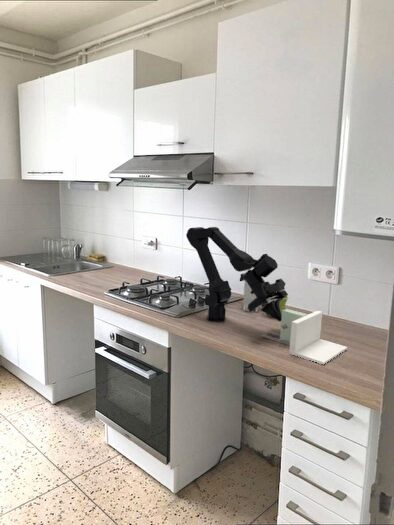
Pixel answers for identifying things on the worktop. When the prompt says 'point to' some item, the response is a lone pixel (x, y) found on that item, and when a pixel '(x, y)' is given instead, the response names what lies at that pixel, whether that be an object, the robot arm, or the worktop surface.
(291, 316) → the door
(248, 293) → the skincare box
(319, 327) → the white l-shaped stand
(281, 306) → the plant pot
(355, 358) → the worktop surface
